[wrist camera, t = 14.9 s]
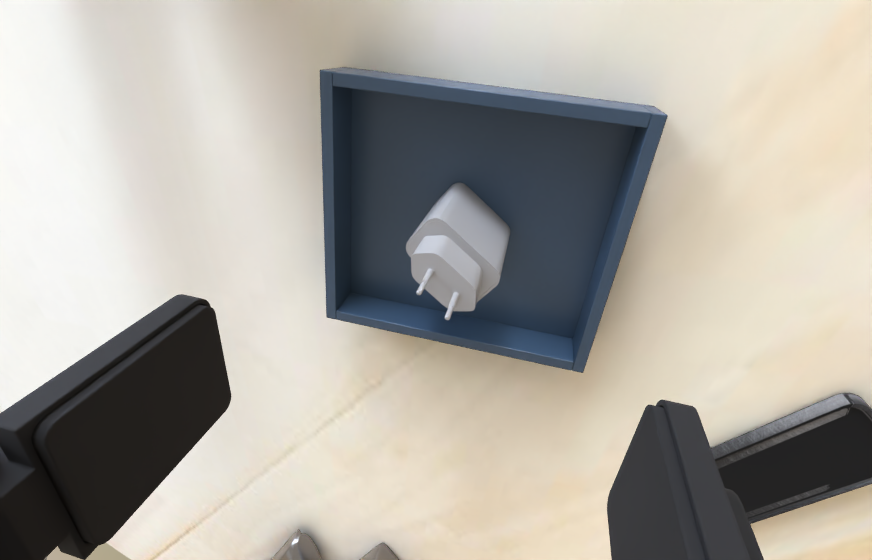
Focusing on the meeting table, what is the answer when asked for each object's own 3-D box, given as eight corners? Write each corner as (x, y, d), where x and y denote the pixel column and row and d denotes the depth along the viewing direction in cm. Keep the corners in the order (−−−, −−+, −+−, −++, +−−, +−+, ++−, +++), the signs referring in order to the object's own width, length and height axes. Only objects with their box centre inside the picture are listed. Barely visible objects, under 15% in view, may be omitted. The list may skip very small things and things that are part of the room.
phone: (664, 480, 38) (861, 398, 31) (661, 469, 39) (852, 388, 32) (722, 534, 39) (924, 468, 32) (718, 522, 40) (913, 455, 33)
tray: (654, 106, 27) (668, 114, 24) (580, 344, 35) (583, 373, 32) (343, 66, 30) (319, 69, 27) (344, 295, 38) (326, 317, 35)
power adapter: (458, 177, 31) (410, 247, 20) (515, 231, 32) (496, 325, 21) (429, 208, 32) (371, 288, 22) (484, 259, 33) (452, 358, 23)
